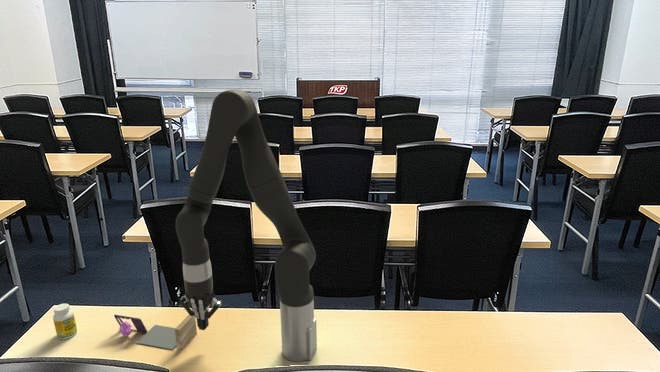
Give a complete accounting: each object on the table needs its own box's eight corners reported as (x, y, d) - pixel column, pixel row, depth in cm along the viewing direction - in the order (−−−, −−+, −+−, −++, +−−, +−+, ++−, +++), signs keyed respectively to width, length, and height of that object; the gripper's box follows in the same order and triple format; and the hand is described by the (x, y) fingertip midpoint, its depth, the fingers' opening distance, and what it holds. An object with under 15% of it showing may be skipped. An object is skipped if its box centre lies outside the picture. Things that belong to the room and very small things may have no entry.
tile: (197, 334, 136) (194, 313, 134) (182, 350, 129) (179, 329, 126) (191, 333, 136) (189, 313, 134) (176, 349, 129) (174, 328, 127)
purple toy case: (141, 316, 133) (115, 312, 135) (131, 331, 129) (105, 326, 132) (149, 330, 137) (123, 326, 139) (139, 345, 133) (113, 340, 136)
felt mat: (189, 331, 137) (189, 330, 137) (172, 350, 129) (172, 349, 129) (155, 325, 140) (155, 324, 140) (136, 343, 132) (136, 342, 132)
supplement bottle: (68, 327, 139) (62, 300, 136) (81, 330, 138) (76, 303, 135) (52, 338, 134) (46, 310, 131) (67, 341, 133) (60, 313, 130)
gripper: (226, 271, 126) (230, 324, 131) (184, 265, 129) (189, 317, 134) (212, 284, 119) (217, 340, 124) (168, 278, 122) (175, 332, 127)
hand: (203, 328), depth 129 cm, fingers closed
